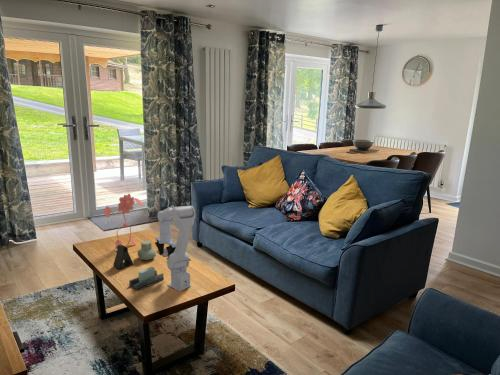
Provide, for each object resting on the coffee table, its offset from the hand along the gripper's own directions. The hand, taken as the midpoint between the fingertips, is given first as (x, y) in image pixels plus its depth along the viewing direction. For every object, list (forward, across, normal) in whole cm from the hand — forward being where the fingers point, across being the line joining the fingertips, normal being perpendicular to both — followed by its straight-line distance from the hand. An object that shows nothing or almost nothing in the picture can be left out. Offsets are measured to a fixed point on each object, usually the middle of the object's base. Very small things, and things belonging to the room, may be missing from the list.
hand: (165, 256), depth 203 cm
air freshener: (+10, -23, +4) cm, 25 cm away
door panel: (+8, +2, -14) cm, 16 cm away
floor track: (+9, +2, -14) cm, 17 cm away
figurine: (+10, -43, +5) cm, 44 cm away
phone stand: (+10, -24, -11) cm, 28 cm away
